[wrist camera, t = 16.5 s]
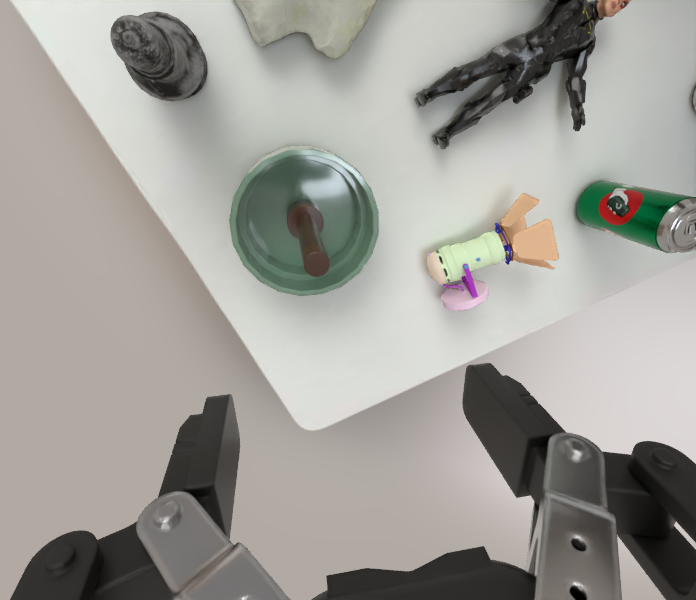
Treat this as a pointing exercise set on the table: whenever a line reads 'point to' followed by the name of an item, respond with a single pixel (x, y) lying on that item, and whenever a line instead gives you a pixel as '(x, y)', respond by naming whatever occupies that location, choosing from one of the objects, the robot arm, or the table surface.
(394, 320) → the table surface
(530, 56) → the action figure
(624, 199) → the soda can
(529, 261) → the spotlight
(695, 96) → the beverage can
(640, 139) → the table surface
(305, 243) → the muddler
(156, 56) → the chess piece
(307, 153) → the bowl
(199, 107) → the table surface
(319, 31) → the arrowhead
